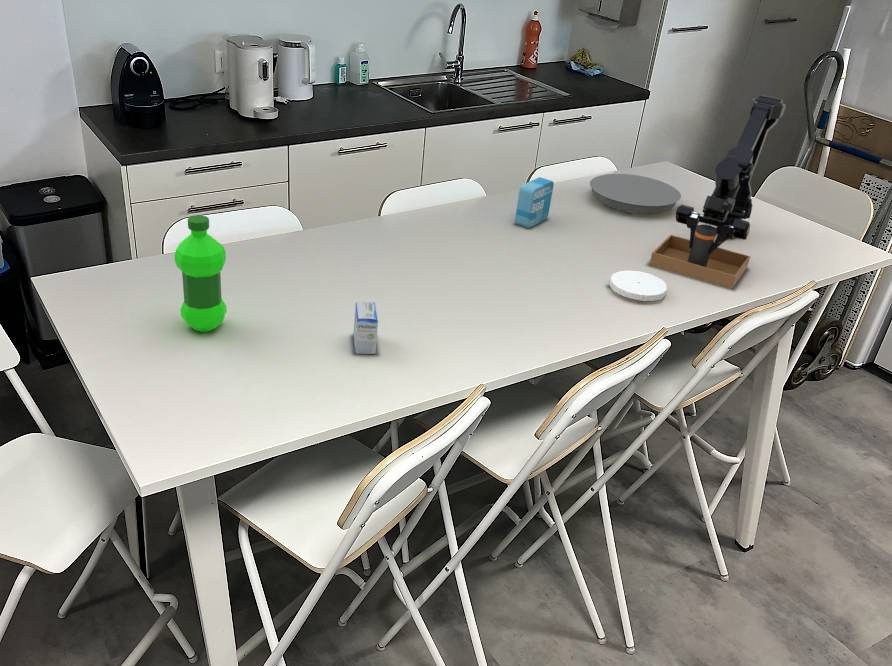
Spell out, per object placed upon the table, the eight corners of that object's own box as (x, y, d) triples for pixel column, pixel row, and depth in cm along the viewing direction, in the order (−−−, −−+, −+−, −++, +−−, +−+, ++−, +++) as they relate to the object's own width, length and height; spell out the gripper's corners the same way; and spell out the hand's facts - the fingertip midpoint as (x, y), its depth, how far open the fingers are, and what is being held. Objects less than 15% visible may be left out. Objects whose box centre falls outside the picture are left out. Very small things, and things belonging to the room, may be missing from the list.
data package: (526, 229, 245) (533, 189, 239) (513, 225, 247) (519, 185, 241) (547, 218, 253) (554, 179, 247) (534, 214, 255) (541, 175, 249)
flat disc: (575, 186, 279) (578, 172, 277) (657, 187, 282) (660, 174, 280) (603, 219, 256) (606, 205, 253) (691, 220, 259) (695, 206, 257)
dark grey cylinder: (694, 264, 231) (706, 223, 225) (709, 272, 227) (721, 230, 221) (681, 267, 229) (692, 226, 222) (696, 275, 225) (708, 233, 219)
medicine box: (353, 335, 188) (354, 300, 183) (373, 336, 188) (375, 301, 184) (355, 354, 181) (357, 318, 177) (376, 354, 182) (378, 319, 177)
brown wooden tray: (667, 247, 241) (670, 234, 239) (746, 269, 231) (750, 256, 229) (649, 265, 229) (652, 252, 227) (731, 289, 220) (735, 276, 218)
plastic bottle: (231, 335, 185) (227, 227, 171) (182, 339, 182) (174, 230, 168) (225, 313, 193) (221, 208, 179) (177, 317, 190) (169, 211, 176)
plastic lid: (674, 304, 211) (677, 294, 210) (621, 305, 208) (623, 296, 207) (650, 278, 222) (652, 269, 221) (600, 279, 220) (602, 270, 219)
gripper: (686, 174, 222) (663, 226, 220) (760, 192, 214) (736, 246, 212) (687, 195, 232) (665, 245, 230) (757, 213, 224) (735, 265, 222)
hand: (699, 250), depth 224 cm, fingers closed on dark grey cylinder, 5 cm apart
